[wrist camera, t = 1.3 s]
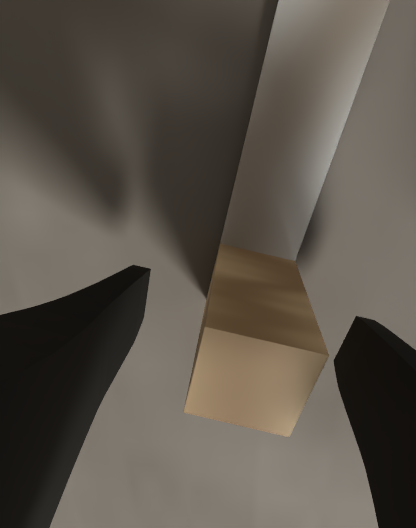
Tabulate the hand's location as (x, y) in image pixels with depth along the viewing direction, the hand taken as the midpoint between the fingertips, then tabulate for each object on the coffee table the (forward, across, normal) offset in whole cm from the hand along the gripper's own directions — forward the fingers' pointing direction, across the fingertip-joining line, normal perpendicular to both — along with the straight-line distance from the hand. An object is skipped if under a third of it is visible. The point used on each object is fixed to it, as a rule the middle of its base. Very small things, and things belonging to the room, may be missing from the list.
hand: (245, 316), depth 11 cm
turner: (+3, 0, -5) cm, 6 cm away
